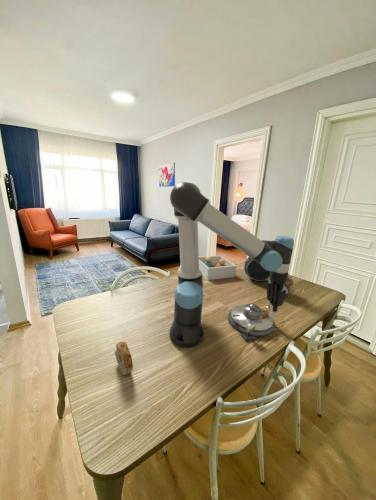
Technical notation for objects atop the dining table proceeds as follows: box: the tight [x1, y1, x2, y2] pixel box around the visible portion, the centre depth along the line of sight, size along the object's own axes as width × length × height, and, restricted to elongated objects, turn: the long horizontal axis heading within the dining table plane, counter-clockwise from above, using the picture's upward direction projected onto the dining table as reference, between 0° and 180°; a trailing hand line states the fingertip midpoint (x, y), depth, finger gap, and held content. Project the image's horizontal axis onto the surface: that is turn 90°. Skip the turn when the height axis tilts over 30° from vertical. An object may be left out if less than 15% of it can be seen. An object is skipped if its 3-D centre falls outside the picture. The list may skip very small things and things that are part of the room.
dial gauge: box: [240, 323, 257, 342], centre depth 92 cm, size 5×4×8 cm
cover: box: [243, 303, 262, 320], centre depth 102 cm, size 8×8×6 cm
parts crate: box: [199, 255, 237, 281], centre depth 162 cm, size 23×24×9 cm
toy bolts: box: [204, 256, 226, 268], centre depth 163 cm, size 18×17×12 cm
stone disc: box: [114, 341, 134, 376], centre depth 73 cm, size 10×4×10 cm, turn 35°
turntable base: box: [227, 310, 276, 339], centre depth 104 cm, size 22×22×2 cm
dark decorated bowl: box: [244, 256, 270, 282], centre depth 151 cm, size 11×20×20 cm, turn 78°
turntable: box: [230, 304, 274, 332], centre depth 102 cm, size 20×20×6 cm
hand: (271, 316), depth 101 cm, fingers closed
